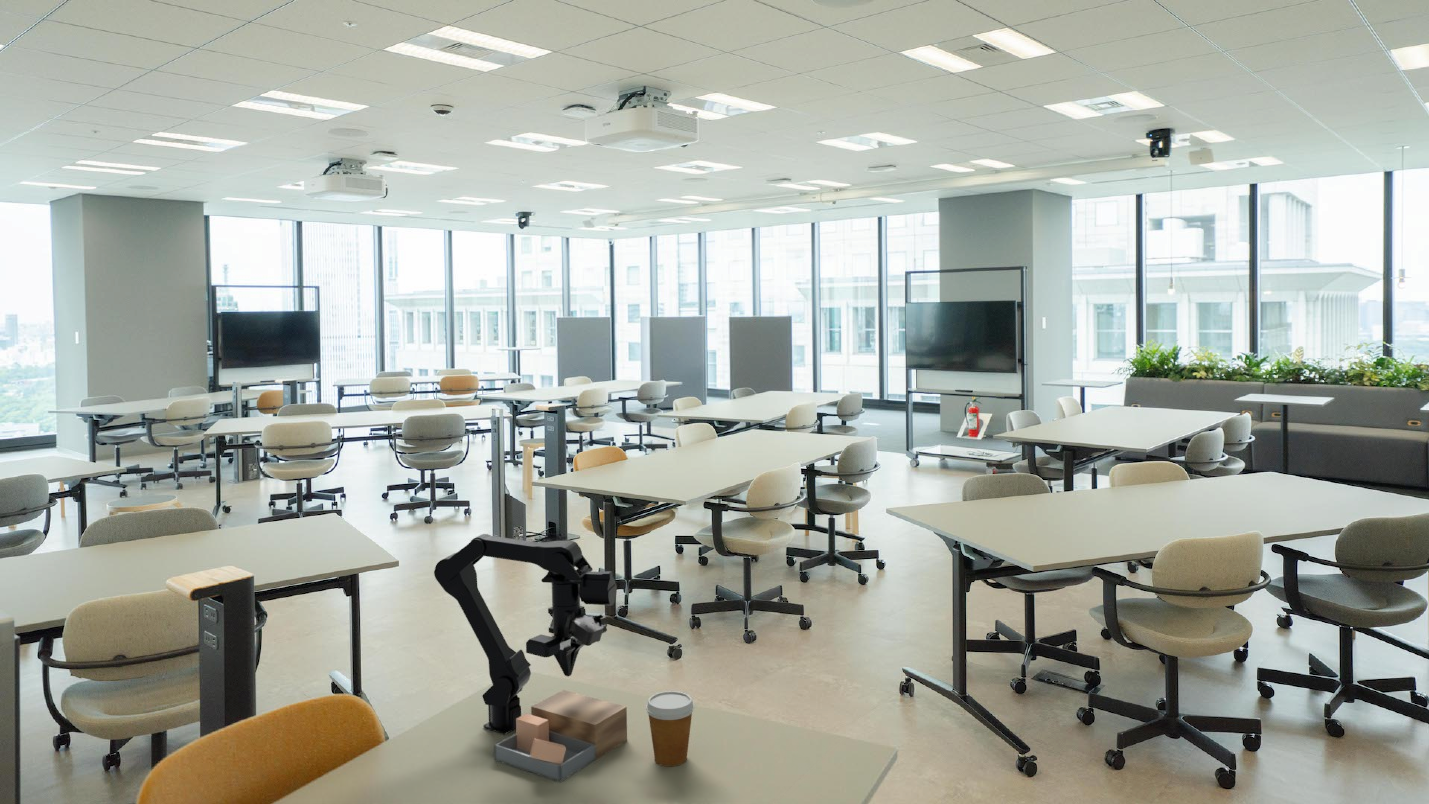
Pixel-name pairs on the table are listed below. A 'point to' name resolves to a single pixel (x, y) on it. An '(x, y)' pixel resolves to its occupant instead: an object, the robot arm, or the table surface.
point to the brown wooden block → (585, 719)
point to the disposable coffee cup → (670, 726)
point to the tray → (573, 761)
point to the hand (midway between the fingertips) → (568, 675)
